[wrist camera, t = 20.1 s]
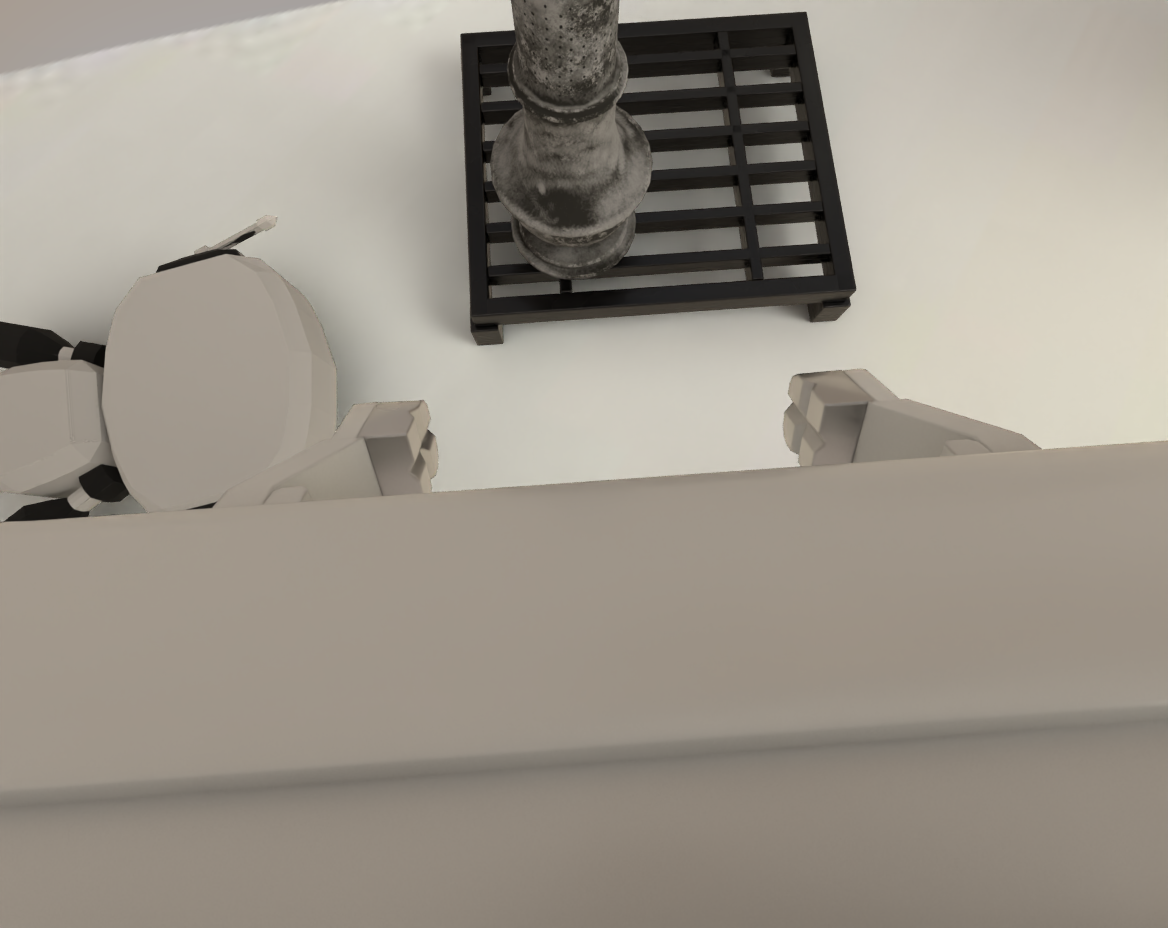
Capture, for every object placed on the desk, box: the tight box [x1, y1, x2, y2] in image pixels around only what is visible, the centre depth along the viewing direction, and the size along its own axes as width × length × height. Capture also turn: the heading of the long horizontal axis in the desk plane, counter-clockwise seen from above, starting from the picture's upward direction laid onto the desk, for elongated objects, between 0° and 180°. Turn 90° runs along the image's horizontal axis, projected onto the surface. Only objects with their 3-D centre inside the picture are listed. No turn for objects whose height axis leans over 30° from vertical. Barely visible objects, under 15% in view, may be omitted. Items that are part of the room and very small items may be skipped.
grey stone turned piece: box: [490, 0, 653, 280], centre depth 18 cm, size 6×6×12 cm
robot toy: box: [0, 215, 337, 522], centre depth 23 cm, size 12×4×15 cm
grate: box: [460, 12, 856, 345], centre depth 25 cm, size 16×14×2 cm
